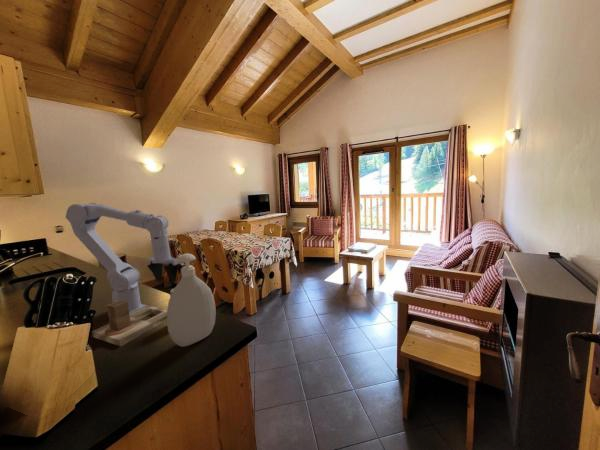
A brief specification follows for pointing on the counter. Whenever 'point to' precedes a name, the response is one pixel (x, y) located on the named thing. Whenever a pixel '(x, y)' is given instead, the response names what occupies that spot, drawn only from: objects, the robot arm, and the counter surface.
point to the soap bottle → (190, 307)
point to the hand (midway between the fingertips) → (166, 281)
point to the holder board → (132, 326)
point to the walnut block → (118, 315)
